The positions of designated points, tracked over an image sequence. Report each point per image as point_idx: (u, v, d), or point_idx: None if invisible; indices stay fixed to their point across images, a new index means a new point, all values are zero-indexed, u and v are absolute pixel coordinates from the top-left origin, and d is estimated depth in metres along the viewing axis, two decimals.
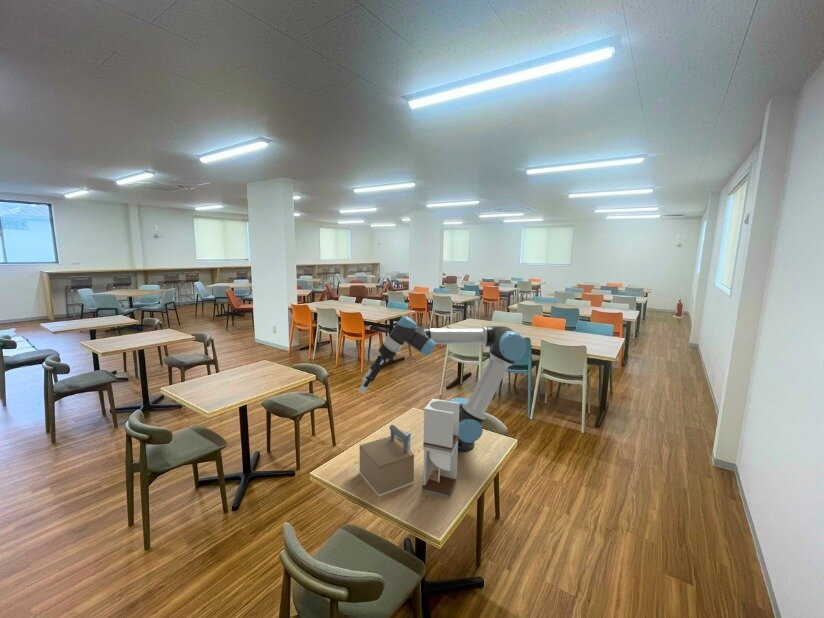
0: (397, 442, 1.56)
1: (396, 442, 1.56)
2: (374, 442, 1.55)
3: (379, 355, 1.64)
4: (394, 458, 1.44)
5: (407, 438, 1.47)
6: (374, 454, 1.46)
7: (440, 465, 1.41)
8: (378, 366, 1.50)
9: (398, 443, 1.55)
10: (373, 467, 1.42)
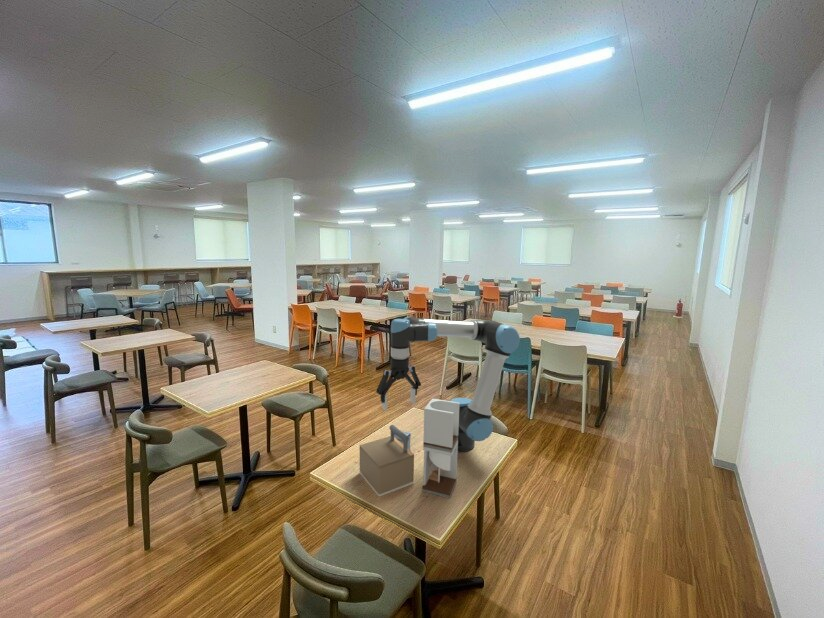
0: (397, 442, 1.56)
1: (396, 442, 1.56)
2: (374, 442, 1.55)
3: None
4: (394, 458, 1.44)
5: (407, 438, 1.47)
6: (374, 454, 1.46)
7: (440, 465, 1.41)
8: (383, 377, 1.45)
9: (398, 443, 1.55)
10: (373, 467, 1.42)
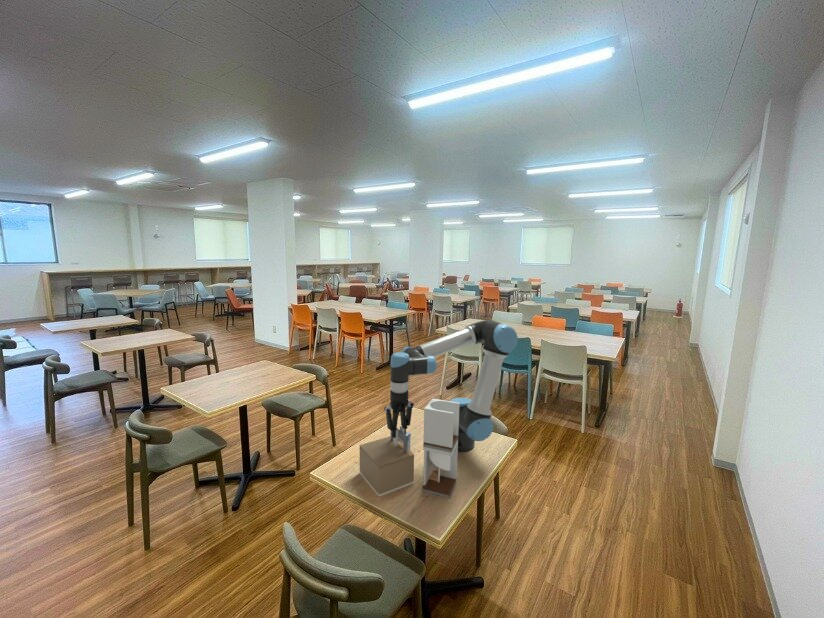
0: None
1: None
2: (374, 442, 1.55)
3: None
4: (394, 458, 1.44)
5: (407, 438, 1.47)
6: (374, 454, 1.46)
7: (440, 465, 1.41)
8: (387, 415, 1.48)
9: (398, 443, 1.55)
10: (373, 467, 1.42)
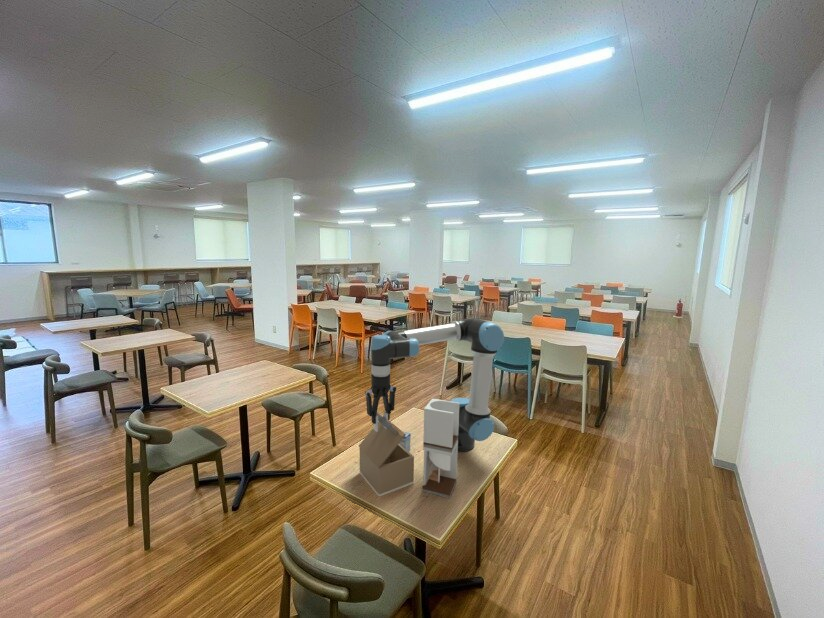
0: None
1: None
2: (370, 434, 1.54)
3: None
4: (389, 448, 1.41)
5: (390, 425, 1.42)
6: (371, 452, 1.45)
7: (440, 465, 1.41)
8: (367, 399, 1.42)
9: None
10: (373, 467, 1.42)
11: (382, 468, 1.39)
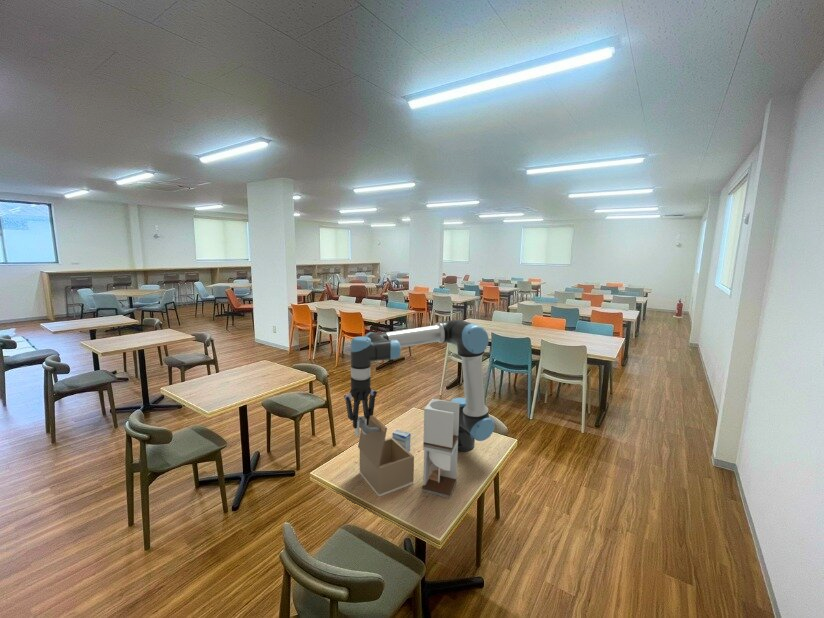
0: (371, 419, 1.47)
1: (370, 419, 1.47)
2: (362, 433, 1.51)
3: None
4: (379, 447, 1.39)
5: (367, 429, 1.36)
6: (368, 452, 1.45)
7: (440, 465, 1.41)
8: (347, 403, 1.37)
9: (372, 420, 1.46)
10: (373, 467, 1.42)
11: (382, 468, 1.39)
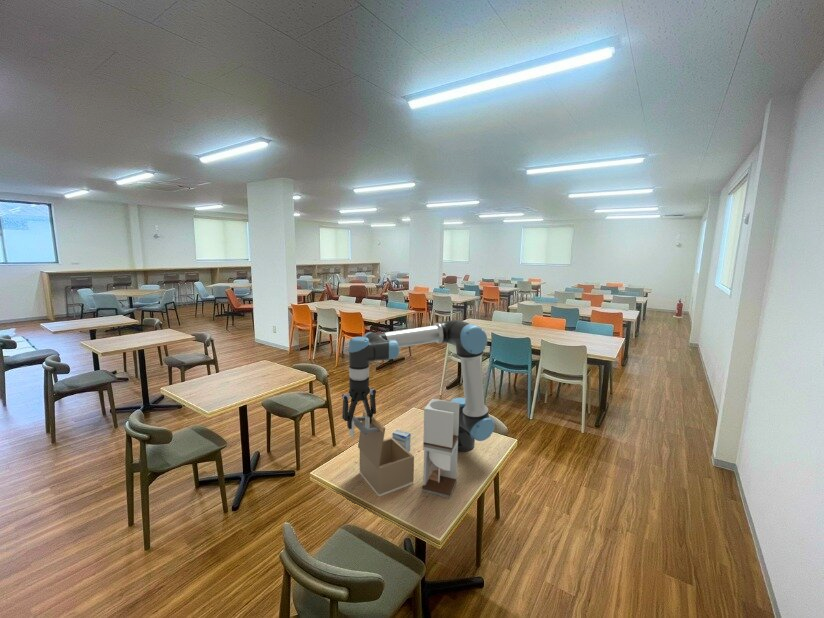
0: None
1: None
2: (361, 433, 1.51)
3: None
4: (378, 447, 1.39)
5: (365, 430, 1.36)
6: (368, 453, 1.45)
7: (440, 465, 1.41)
8: (343, 403, 1.36)
9: None
10: (373, 467, 1.42)
11: (382, 468, 1.39)
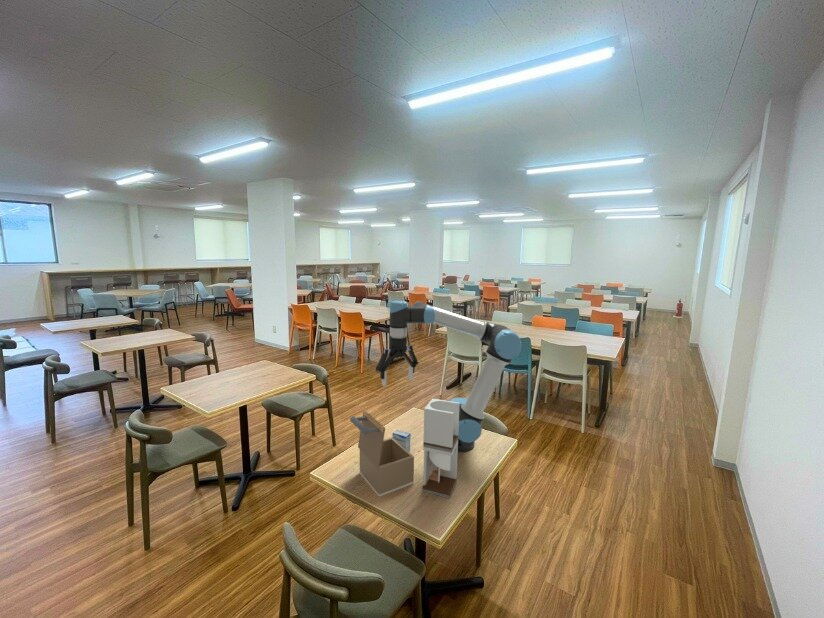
0: (369, 419, 1.46)
1: (368, 419, 1.47)
2: (361, 433, 1.51)
3: None
4: (378, 447, 1.39)
5: (365, 430, 1.36)
6: (368, 453, 1.45)
7: (440, 465, 1.41)
8: (383, 355, 1.55)
9: (370, 420, 1.46)
10: (373, 467, 1.42)
11: (382, 468, 1.39)
